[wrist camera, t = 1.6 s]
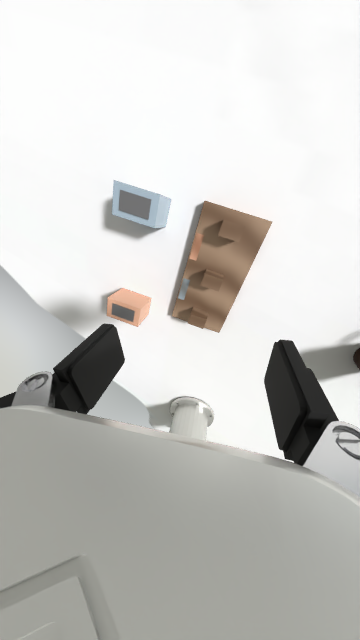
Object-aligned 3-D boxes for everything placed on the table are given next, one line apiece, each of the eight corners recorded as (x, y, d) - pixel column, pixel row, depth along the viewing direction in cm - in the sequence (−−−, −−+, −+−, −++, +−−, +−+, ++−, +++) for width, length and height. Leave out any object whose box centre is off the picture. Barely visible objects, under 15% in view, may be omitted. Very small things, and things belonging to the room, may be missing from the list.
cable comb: (219, 328, 37) (218, 341, 33) (173, 312, 37) (167, 323, 33) (270, 221, 26) (277, 222, 22) (205, 201, 27) (202, 198, 23)
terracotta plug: (148, 314, 39) (137, 327, 34) (120, 304, 39) (106, 315, 34) (151, 297, 37) (140, 309, 32) (122, 287, 37) (107, 297, 32)
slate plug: (165, 226, 30) (154, 228, 25) (129, 215, 30) (111, 214, 25) (171, 199, 28) (159, 194, 23) (132, 186, 28) (113, 179, 23)
